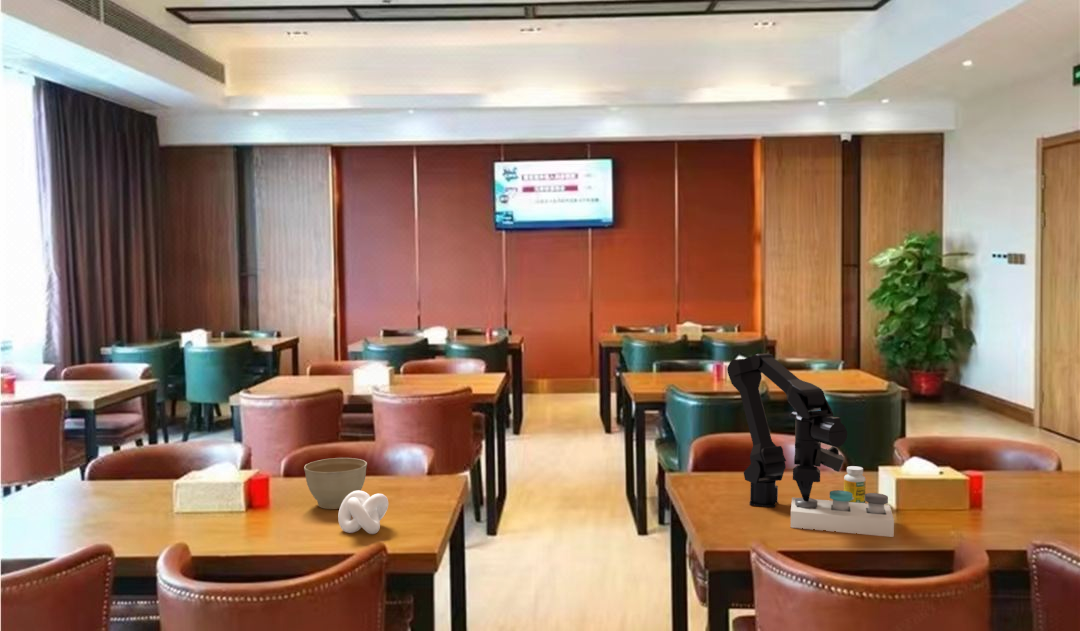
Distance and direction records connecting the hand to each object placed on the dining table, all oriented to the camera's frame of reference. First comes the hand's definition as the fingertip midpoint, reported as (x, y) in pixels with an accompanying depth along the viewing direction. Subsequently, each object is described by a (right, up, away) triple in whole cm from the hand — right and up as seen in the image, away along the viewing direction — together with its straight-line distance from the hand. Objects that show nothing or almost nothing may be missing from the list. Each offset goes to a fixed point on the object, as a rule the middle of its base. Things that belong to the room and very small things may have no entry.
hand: (806, 500), depth 205 cm
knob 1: (0, -4, 0) cm, 4 cm away
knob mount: (+8, -5, -2) cm, 10 cm away
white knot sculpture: (-108, -7, -5) cm, 108 cm away
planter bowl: (-120, -5, +17) cm, 121 cm away
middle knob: (+8, -1, -2) cm, 8 cm away
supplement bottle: (+17, -4, +15) cm, 23 cm away
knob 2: (+15, -1, -5) cm, 16 cm away
